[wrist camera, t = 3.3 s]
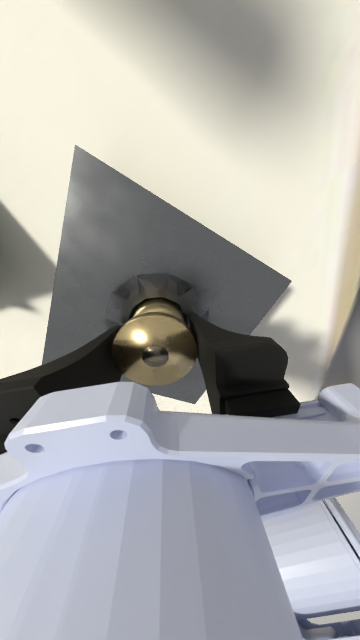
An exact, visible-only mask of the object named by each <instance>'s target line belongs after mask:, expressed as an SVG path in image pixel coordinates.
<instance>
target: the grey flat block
mask: <svg viewBox="0 0 360 640" xmlns="http://www.w3.org/2000/svg"><path fill="white" fill-rule="evenodd" d="M290 283H291V280H289V279H288V278H286V277H285V276H283V275H281V274H280V273H278V272H277V271H275V270H273V269H272V268H270V267H269V266H267V265H266V264H264V263H262V262H261V261H259V260H258V259H256V258H254V257H253V256H251V255H250V254H248V253H246V252H245V251H243V250H242V249H240V248H239V247H237V246H235V245H234V244H232V243H231V242H229V241H227V240H226V239H224V238H223V237H221V236H219V235H218V234H216V233H215V232H213V231H212V230H210V229H208V228H207V227H205V226H204V225H202V224H200V223H199V222H197V221H196V220H194V219H192V218H191V217H189V216H188V215H186V214H185V213H183V212H181V211H180V210H178V209H177V208H175V207H173V206H172V205H170V204H169V203H167V202H165V201H164V200H162V199H161V198H159V197H158V196H156V195H154V194H153V193H151V192H150V191H148V190H146V189H145V188H143V187H142V186H140V185H139V184H137V183H135V182H134V181H132V180H131V179H129V178H127V177H126V176H124V175H123V174H121V173H119V172H118V171H116V170H115V169H113V168H112V167H110V166H108V165H107V164H105V163H104V162H102V161H100V160H99V159H97V158H96V157H94V156H92V155H91V154H89V153H88V152H86V151H85V150H83V149H81V148H80V147H78V146H77V145H75V150H74V156H73V163H72V169H71V176H70V183H69V189H68V196H67V202H66V209H65V216H64V222H63V229H62V235H61V242H60V248H59V255H58V262H57V268H56V275H55V281H54V288H53V295H52V301H51V308H50V314H49V321H48V327H47V334H46V341H45V347H44V354H43V360H42V365H44V364H46V363H49V362H51V361H53V360H56V359H58V358H60V357H62V356H65V355H67V354H69V353H71V352H73V351H75V350H77V349H78V348H80V347H82V346H84V345H85V344H87V343H89V342H90V341H92V340H93V339H95V338H97V337H98V336H100V335H101V334H103V333H104V332H106V331H107V330H109V329H110V328H112V327H114V326H118V325H124V324H125V323H126V322H127V321H128V320H129V319H131V318H133V316H134V314H135V312H136V310H137V308H138V306H139V303H140V302H141V301H143V300H144V299H146V298H155V297H165V298H167V299H169V300H172V301H174V302H176V303H178V304H179V305H180V306H181V310H182V314H183V318H184V322H185V323H186V324H187V326H188V327H189V328H190V325H189V317H188V315H190V314H197V315H199V316H200V317H202V318H203V319H205V320H206V321H208V322H210V323H212V324H214V325H216V326H218V327H220V328H223V329H225V330H228V331H231V332H235V333H239V334H244V335H250V333H251V332H252V331H253V330H254V328H255V327H256V326H257V325H258V323H259V322H260V321H261V320H262V318H263V317H264V316H265V314H266V313H267V312H268V311H269V309H270V308H271V307H272V306H273V304H274V303H275V302H276V300H277V299H278V298H279V297H280V295H281V294H282V293H283V292H284V290H285V289H286V288H287V287H288V285H289V284H290ZM120 382H135V381H133V380H131V379H129V378H127V377H126V376H124V375H123V374H122V376H121V379H120ZM135 383H137V382H135ZM137 384H140V385H142V386H144V387H146V388H148V390H149V391H150V392H151V393H153V394H157V395H161V396H165V397H169V398H173V399H177V400H181V401H185V402H189V403H192V404H195V403H196V402H197V401H198V399H199V398H200V397H201V396H202V394H203V393H204V392H205V391H206V385H205V381H204V377H203V373H202V370H201V367H200V364H199V361H198V359H197V358H196V362H195V364H194V366H193V367H192V369H191V370H190V371H189V372H188V373H187V374H186V375H185V376H184V377H182V378H181V379H179V380H177V381H175V382H172V383H169V384H165V385H145V384H141V383H137Z"/></svg>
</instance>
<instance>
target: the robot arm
mask: <svg viewBox="0 0 360 640" xmlns="http://www.w3.org/2000/svg"><path fill="white" fill-rule="evenodd" d="M188 317H189V325H190V329H191V331H192V333H193V335H194V338H195V342H196V345H197V359H198V361H199V364H200V367H201V370H202V373H203V377H204V381H205V385H206V389H207V394H208V398H209V402H210V406H211V411H212V414H203V413H186V412H170V411H160V410H159V409H158V407H157V404H156V401H155V398H154V396H153V395H152V393H151V392H150V391H149V390H148V388H146V387H144V386H142V385H140V384H137V383H135V382H120V379H121V376H122V373H121V372H120V371H119V370H118V369H117V367H116V365H115V364H114V361H113V358H112V344H113V341H114V339H115V337H116V335H117V333H118V332H119V330H120V329H121V327H122V326H123V325H118V326H114V327H112V328H110V329H109V330H107V331H106V332H104V333H103V334H101V335H100V336H98V337H97V338H95V339H93V340H92V341H90V342H89V343H87V344H85V345H84V346H82V347H80V348H78V349H77V350H75V351H73V352H71V353H69V354H67V355H65V356H62V357H60V358H58V359H56V360H53V361H51V362H49V363H46V364H44V365H41V366H39V367H36V368H33V369H30V370H28V371H25V372H22V373H18V374H15V375H12V376H9V377H6V378H3V379H0V640H360V619H356V620H350V621H343V622H335V623H329V624H321V625H318V624H314V623H311V622H309V621H308V620H307V618H314V617H321V616H327V615H333V614H340V613H347V612H353V611H359V610H360V559H359V558H360V533H359V532H358V530H357V529H356V527H355V526H354V524H353V523H352V521H351V520H350V519H349V517H348V516H347V514H346V513H345V511H344V510H343V508H342V507H341V505H340V504H339V502H338V501H337V499H336V498H335V497H337V496H341V495H344V494H349V493H353V492H357V491H360V389H359V388H358V387H357V386H355V385H354V384H353V383H347V384H341V385H334V386H329V387H326V388H324V389H322V390H321V391H320V393H319V396H318V400H312V401H306V402H300V403H299V402H298V400H297V399H296V398H295V397H294V396H293V394H292V393H291V392H290V391H289V390H288V388H289V384H288V383H287V382H286V381H285V380H284V375H285V371H286V367H287V363H288V356H287V353H286V352H285V350H284V349H283V348H282V347H281V346H280V345H278V344H277V343H276V342H275V341H274V340H273V339H271V338H268V337H258V336H250V335H244V334H239V333H235V332H231V331H228V330H225V329H223V328H220V327H218V326H216V325H214V324H212V323H210V322H208V321H206V320H205V319H203V318H202V317H200V316H199V315H197V314H190V315H188ZM323 500H324V501H325V502H324V501H323ZM325 503H326V504H325ZM326 505H327V506H328V507H327V506H326ZM328 508H329V509H328ZM330 511H331V512H330ZM331 513H332V514H333V515H332V514H331ZM333 516H334V517H333Z"/></svg>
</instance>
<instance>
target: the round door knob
mask: <svg viewBox="0 0 360 640" xmlns="http://www.w3.org/2000/svg"><path fill="white" fill-rule="evenodd" d="M112 358H113V361H114V364H115V365H116V367H117V369H118V370H119V371H120V372H121V373H122V374H123V375H124V376H126V377H127V378H129V379H131V380H133V381H135V382H137V383H141V384H145V385H165V384H169V383H172V382H175V381H177V380H179V379H181V378H182V377H184V376H185V375H186V374H187V373H188V372H189V371H190V370H191V369H192V367H193V366H194V364H195V362H196V358H197V345H196V342H195V338H194V335H193V333H192V331H191V329H190V328H189V327H188V326H187V324H186V323H185V322H184V318H183V314H182V310H181V306H180V305H179V304H178V303H176V302H174V301H172V300H169V299H167V298H165V297H155V298H146V299H144V300H143V301H141V302H140V303H139V306H138V308H137V310H136V312H135V314H134V316H133V318H131V319H129V320H128V321H127V322H126V323H125V324H124V325H123V326H122V327H121V329H120V330H119V332H118V333H117V335H116V337H115V339H114V341H113V344H112Z"/></svg>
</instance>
